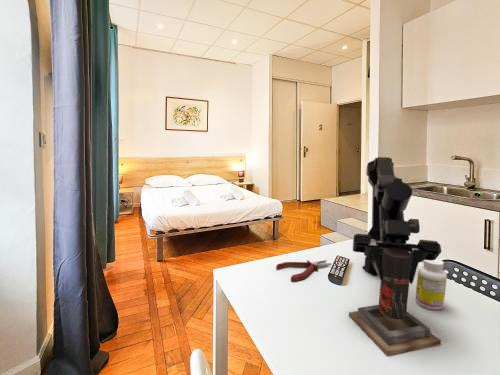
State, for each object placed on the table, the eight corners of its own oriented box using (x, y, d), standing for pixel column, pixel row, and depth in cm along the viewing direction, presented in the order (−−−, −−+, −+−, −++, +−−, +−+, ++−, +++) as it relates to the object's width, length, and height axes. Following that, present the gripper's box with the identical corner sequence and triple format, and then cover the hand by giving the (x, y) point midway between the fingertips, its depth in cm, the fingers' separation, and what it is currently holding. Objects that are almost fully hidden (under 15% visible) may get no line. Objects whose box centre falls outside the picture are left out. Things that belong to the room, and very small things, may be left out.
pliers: (340, 271, 97) (340, 264, 97) (292, 284, 89) (293, 277, 88) (318, 259, 107) (319, 253, 107) (274, 270, 99) (274, 263, 98)
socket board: (394, 308, 75) (395, 298, 74) (440, 344, 61) (441, 332, 61) (348, 315, 72) (349, 305, 71) (386, 355, 58) (388, 343, 58)
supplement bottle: (418, 294, 81) (423, 253, 79) (445, 303, 77) (450, 260, 75) (412, 303, 77) (416, 260, 75) (440, 314, 72) (445, 268, 70)
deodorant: (411, 319, 63) (417, 258, 60) (384, 319, 63) (390, 257, 61) (398, 304, 69) (403, 247, 66) (374, 304, 69) (378, 247, 66)
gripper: (355, 202, 68) (355, 262, 60) (443, 208, 62) (456, 275, 54) (353, 224, 77) (352, 279, 69) (429, 230, 71) (438, 291, 63)
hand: (395, 280), depth 63 cm, fingers closed on deodorant, 6 cm apart
